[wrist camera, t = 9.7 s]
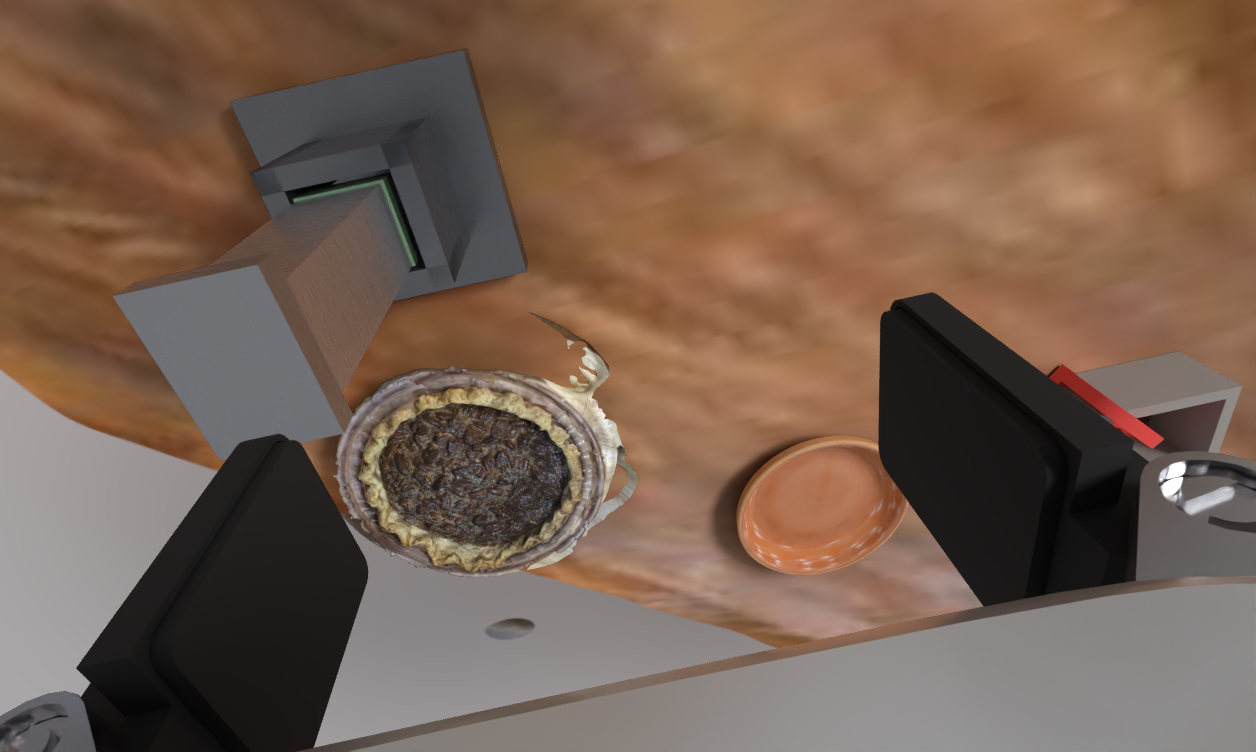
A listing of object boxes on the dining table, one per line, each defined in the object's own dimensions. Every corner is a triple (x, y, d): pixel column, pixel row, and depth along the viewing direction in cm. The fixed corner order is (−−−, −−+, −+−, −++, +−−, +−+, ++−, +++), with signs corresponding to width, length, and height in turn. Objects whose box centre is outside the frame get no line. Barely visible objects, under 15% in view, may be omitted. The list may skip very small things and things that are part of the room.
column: (294, 173, 34) (96, 299, 19) (387, 153, 34) (260, 263, 19) (343, 283, 37) (206, 463, 23) (428, 264, 37) (347, 432, 23)
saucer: (888, 539, 65) (902, 562, 62) (733, 566, 64) (741, 589, 62) (903, 408, 57) (920, 427, 54) (726, 437, 56) (734, 458, 54)
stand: (243, 97, 39) (143, 126, 30) (466, 48, 39) (439, 61, 29) (338, 303, 46) (282, 381, 37) (527, 262, 46) (521, 329, 37)
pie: (491, 610, 64) (486, 653, 60) (236, 459, 53) (207, 498, 48) (703, 441, 56) (715, 476, 52) (458, 222, 45) (447, 244, 41)
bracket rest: (1000, 389, 56) (1045, 428, 51) (1178, 351, 56) (1242, 385, 51) (990, 468, 61) (1030, 511, 56) (1155, 433, 61) (1211, 472, 56)
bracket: (1021, 402, 57) (1085, 458, 50) (1062, 364, 55) (1134, 417, 49) (1097, 452, 62) (1165, 510, 55) (1137, 418, 60) (1212, 474, 53)
